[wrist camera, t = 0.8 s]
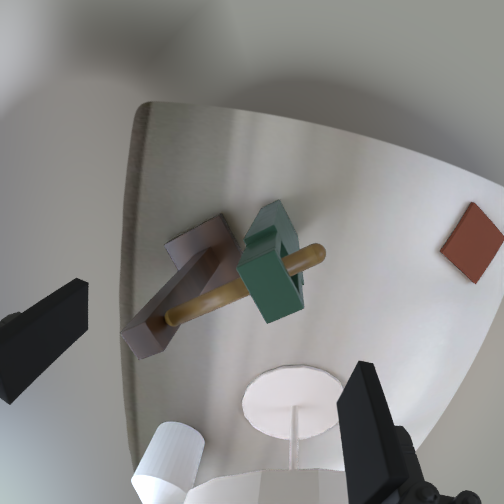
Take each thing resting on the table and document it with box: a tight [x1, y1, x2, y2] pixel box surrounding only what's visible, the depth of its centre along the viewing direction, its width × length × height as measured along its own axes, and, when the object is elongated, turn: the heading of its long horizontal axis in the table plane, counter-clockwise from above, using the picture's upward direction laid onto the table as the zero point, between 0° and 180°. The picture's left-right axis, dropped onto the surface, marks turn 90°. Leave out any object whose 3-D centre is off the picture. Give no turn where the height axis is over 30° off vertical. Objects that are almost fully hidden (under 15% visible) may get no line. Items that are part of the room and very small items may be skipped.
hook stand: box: [120, 214, 326, 360], centre depth 35 cm, size 22×10×25 cm, turn 118°
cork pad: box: [440, 202, 504, 284], centre depth 43 cm, size 10×10×1 cm
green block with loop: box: [236, 200, 304, 324], centre depth 34 cm, size 3×6×25 cm, turn 28°
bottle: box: [132, 422, 205, 504], centre depth 49 cm, size 12×12×25 cm
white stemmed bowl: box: [184, 365, 349, 504], centre depth 40 cm, size 30×30×31 cm
